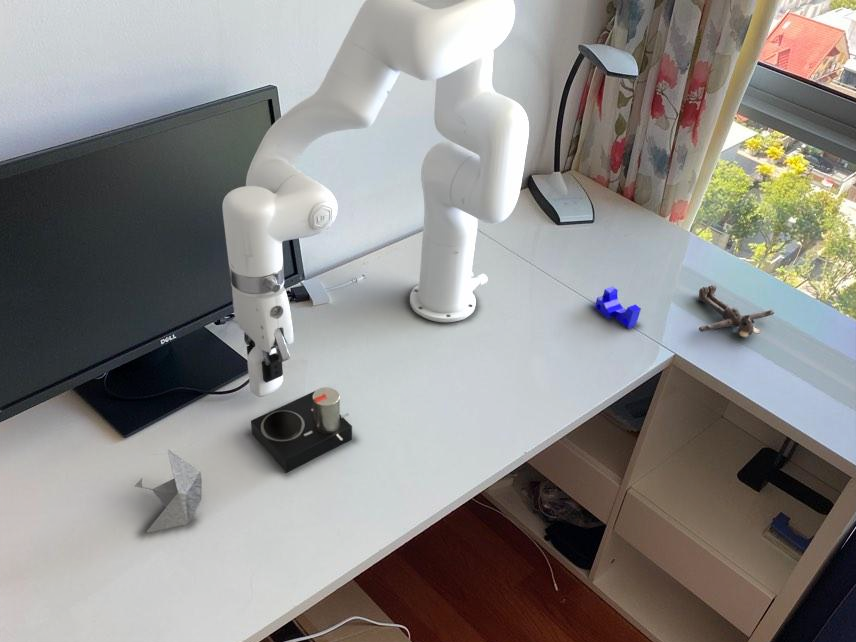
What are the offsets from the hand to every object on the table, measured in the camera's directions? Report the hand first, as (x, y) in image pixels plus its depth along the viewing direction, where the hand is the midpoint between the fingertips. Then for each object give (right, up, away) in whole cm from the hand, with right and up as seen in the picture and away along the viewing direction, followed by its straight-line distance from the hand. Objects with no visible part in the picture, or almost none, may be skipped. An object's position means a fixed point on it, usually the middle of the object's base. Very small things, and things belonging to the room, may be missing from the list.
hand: (265, 369), depth 127 cm
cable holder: (+62, +11, +28) cm, 69 cm away
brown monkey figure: (+84, +11, +30) cm, 90 cm away
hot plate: (+6, -11, -1) cm, 12 cm away
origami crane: (-11, -20, -12) cm, 25 cm away
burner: (+3, -9, -3) cm, 10 cm away
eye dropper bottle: (0, -3, +3) cm, 4 cm away
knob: (+10, -9, -3) cm, 13 cm away
